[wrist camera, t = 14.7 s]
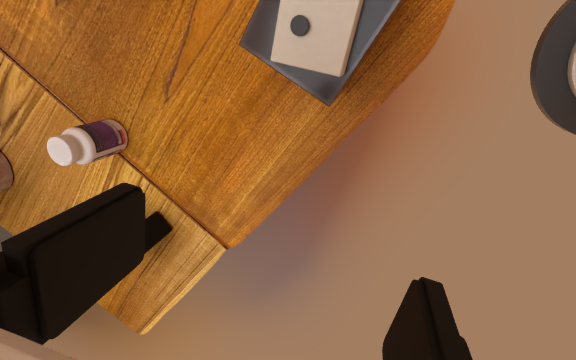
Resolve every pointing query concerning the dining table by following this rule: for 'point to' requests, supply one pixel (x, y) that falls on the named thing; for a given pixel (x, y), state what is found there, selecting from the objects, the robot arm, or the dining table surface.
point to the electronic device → (155, 230)
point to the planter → (5, 173)
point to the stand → (326, 88)
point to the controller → (316, 34)
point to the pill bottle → (87, 143)
